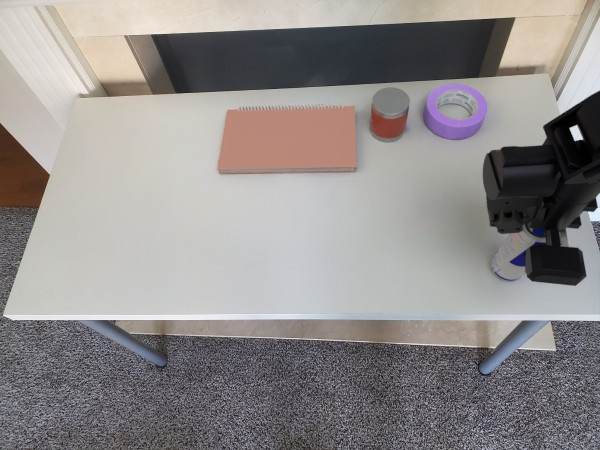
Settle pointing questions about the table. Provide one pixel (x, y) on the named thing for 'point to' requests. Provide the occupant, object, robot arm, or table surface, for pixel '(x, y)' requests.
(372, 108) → the food tin
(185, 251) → the table surface
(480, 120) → the tape roll
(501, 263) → the beverage can
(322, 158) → the notebook
